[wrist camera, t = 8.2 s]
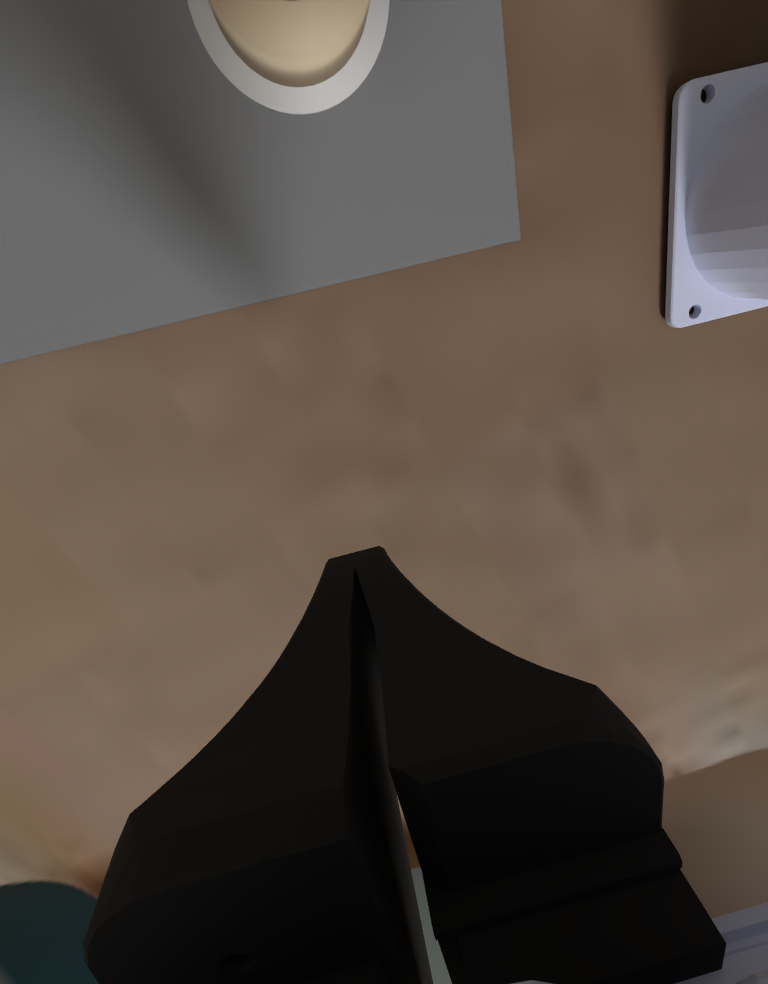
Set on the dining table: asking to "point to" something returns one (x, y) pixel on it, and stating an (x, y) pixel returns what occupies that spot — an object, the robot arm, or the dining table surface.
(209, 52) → the light grey baseplate
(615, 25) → the dining table surface
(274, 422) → the dining table surface
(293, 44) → the beech link
